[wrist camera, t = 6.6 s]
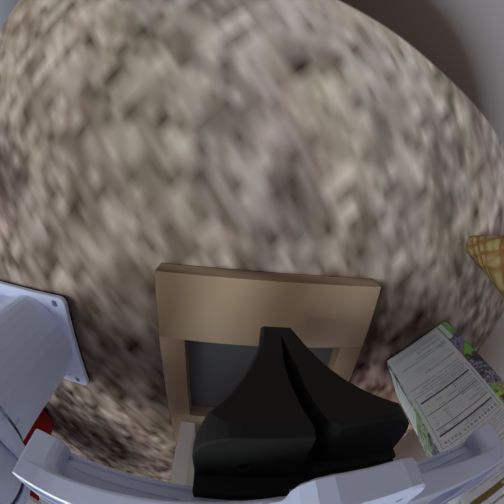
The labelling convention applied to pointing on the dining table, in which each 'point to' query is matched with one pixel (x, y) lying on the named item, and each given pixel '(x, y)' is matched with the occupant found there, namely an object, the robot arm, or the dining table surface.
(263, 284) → the frame
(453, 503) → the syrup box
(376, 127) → the dining table surface
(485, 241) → the ice cream cone
